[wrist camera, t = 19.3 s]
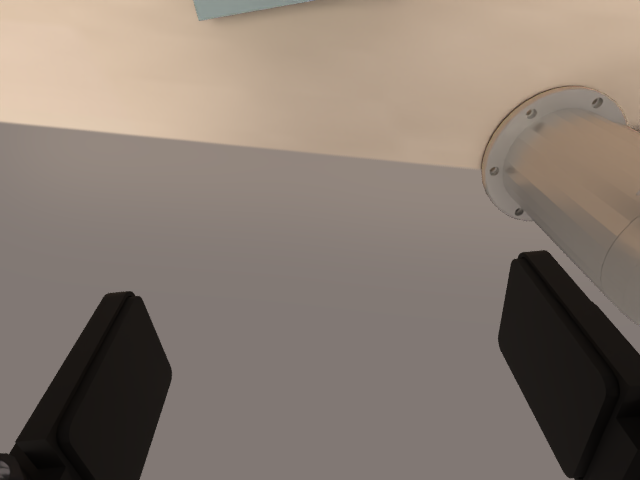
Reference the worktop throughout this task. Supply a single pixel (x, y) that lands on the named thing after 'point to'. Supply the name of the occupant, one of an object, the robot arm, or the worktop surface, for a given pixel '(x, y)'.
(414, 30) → the worktop surface
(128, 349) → the robot arm
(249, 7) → the holder
